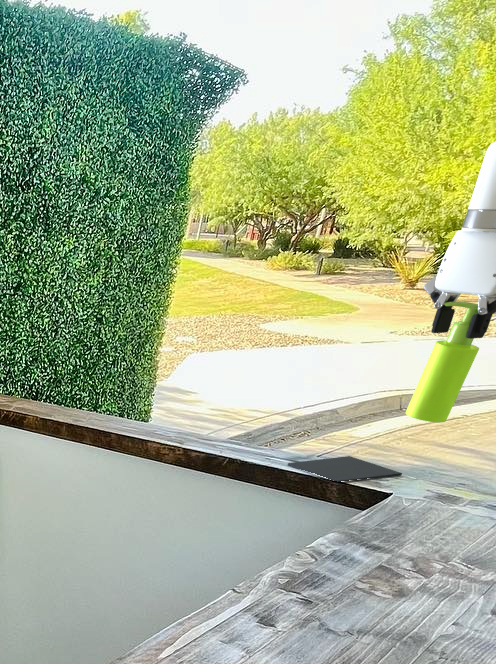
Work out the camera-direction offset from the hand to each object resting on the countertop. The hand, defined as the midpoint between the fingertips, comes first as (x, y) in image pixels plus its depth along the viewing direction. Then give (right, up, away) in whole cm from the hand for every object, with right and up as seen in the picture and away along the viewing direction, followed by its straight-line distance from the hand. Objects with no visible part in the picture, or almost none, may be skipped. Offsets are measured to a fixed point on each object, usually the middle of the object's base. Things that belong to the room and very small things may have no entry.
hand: (456, 334), depth 131 cm
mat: (-4, -22, +21) cm, 31 cm away
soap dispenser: (0, -13, +7) cm, 15 cm away
